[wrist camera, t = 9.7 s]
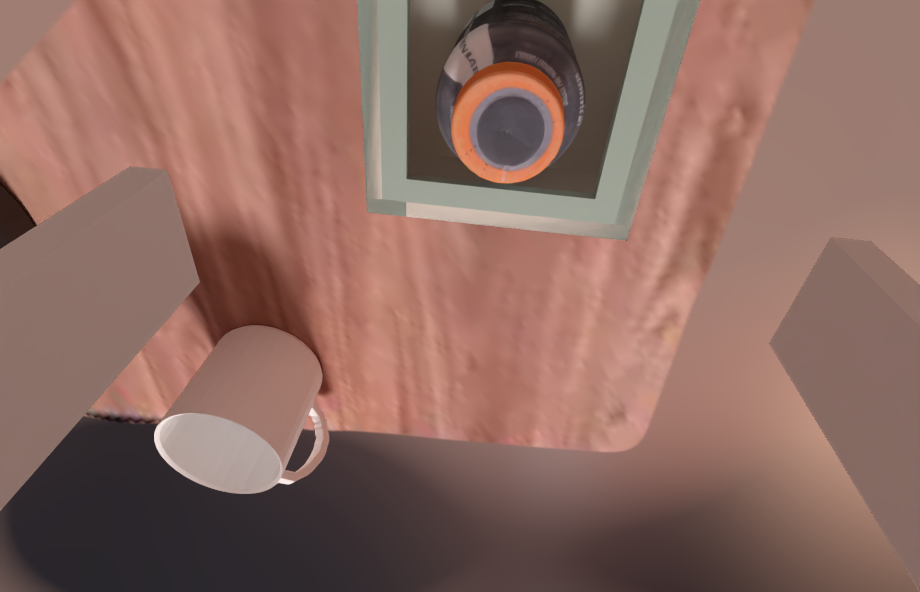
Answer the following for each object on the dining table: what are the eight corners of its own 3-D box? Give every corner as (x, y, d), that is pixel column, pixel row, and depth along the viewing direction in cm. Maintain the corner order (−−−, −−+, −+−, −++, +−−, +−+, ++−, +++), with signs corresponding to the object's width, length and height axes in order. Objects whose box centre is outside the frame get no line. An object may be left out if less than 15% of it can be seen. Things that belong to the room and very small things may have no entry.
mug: (196, 343, 43) (126, 433, 35) (275, 307, 39) (217, 398, 32) (289, 430, 48) (246, 522, 41) (365, 404, 45) (333, 500, 38)
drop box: (395, 160, 31) (366, 212, 26) (392, -111, 23) (351, -121, 18) (607, 182, 31) (626, 240, 25) (677, -87, 23) (727, -90, 17)
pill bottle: (438, 24, 26) (392, 78, 17) (551, -28, 24) (568, 2, 15) (480, 132, 29) (461, 228, 20) (583, 94, 27) (613, 180, 18)
